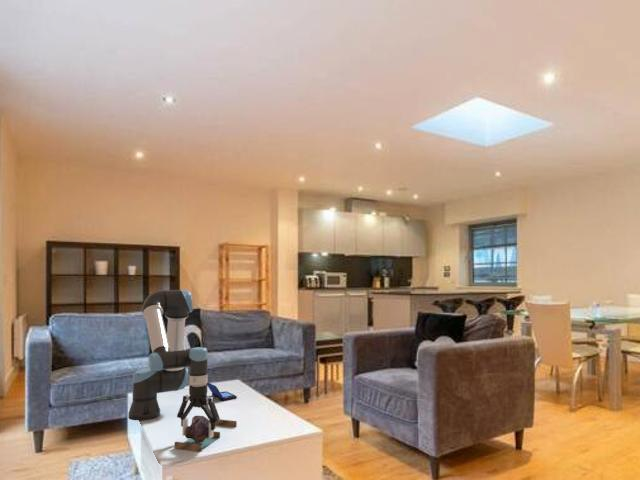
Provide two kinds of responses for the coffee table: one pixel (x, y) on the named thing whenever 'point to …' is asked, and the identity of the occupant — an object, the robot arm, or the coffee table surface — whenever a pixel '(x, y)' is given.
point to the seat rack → (216, 435)
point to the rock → (198, 429)
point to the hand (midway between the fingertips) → (197, 436)
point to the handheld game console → (220, 393)
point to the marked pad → (204, 443)
